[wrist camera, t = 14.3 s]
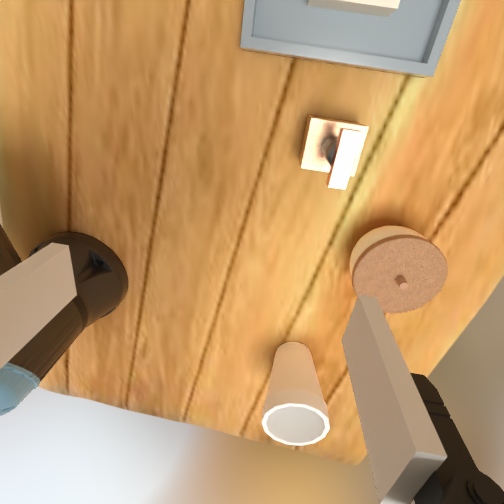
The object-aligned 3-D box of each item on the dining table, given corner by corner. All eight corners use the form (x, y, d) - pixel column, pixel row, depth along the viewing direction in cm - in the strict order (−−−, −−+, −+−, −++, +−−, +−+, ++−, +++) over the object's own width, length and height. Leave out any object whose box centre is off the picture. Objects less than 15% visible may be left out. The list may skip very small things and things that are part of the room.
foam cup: (258, 361, 56) (251, 430, 44) (281, 327, 51) (280, 394, 40) (303, 380, 57) (308, 452, 45) (330, 348, 53) (343, 419, 41)
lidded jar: (432, 262, 43) (467, 302, 35) (360, 291, 47) (376, 334, 38) (405, 199, 40) (437, 227, 31) (329, 236, 43) (340, 270, 35)
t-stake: (298, 159, 38) (304, 184, 28) (308, 114, 36) (317, 123, 26) (346, 166, 38) (369, 194, 28) (358, 122, 36) (388, 135, 25)
